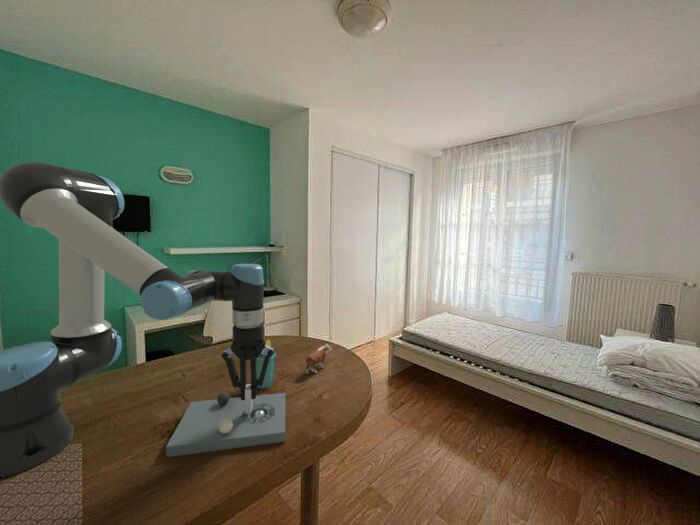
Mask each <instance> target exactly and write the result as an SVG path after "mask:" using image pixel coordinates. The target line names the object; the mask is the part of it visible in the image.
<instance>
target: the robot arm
mask: <svg viewBox="0 0 700 525" xmlns="http://www.w3.org/2000/svg"><path fill="white" fill-rule="evenodd" d="M0 200H1V202H2V204H3V205H4V207H5V208H6V209H7V210H8V211H9V212H11V214H13V215H14V216H15V217H17V218H18V219H19V220H21V221H22V222H24V223H25V224H27V225H29V226H31V227H33V228H38V229H39V228H41V229H44V230H45V231H47V232H48V233H49V234H51V235H53V236H54V237H55V238H56V239H58V290H59V291H58V292H59V293H58V296H59V297H58V304H59V306H58V309H59V310H58V311H59V313H58V315H59V316H58V317H59V319H58V320H59V322H58V323H59V324H57V326H55V327H54V328H53V329H51V330H50V341H35V342H34V341H33V342H28V343H27V342H26V343H25V344H23V345H15V346H11V347H9V348H6V349H3V350H1V351H0V477H3V476H7V477H10V476H14V475H16V474H19V473H22V472H25V471H27V470H30V469H32V468H33V467H36V466H39V465H40V464H43V463H44V462H46V461H47V460H49V459H51V458H53V457H55V456H56V455H57V454H59V453H60V452H62V451H63V450H64V449H65V448H66V447H67V446H68V445H69V444H70V443H71V442H72V440H73V438H74V426H73V423H72V422H71V421H70V420H69V418H68V417H67V415H66V413H65V412H64V410H63V408H62V404H61V392H62V391H63V390H65V389H68V388H69V387H71V386H73V385H75V384H76V383H78V382H81V381H83V380H84V379H86V378H88V377H90V376H92V375H95V374H98V373H100V372H102V371H103V370H105V369H106V368H107V367H109V366H110V365H112V364H114V362H116V361H117V359H119V358H118V357H119V356H120V354H121V352H122V347H123V345H122V343H123V342H122V338H121V336H120V335H118V331H117V330H116V329H114V328H112V324H111V322H109V321H107V320H105V279H106V278H105V275H106V274H105V272H106V273H107V274H109V275H110V276H111V277H113V278H114V279H116V280H118V281H119V282H121V283H122V284H123V285H125V286H126V287H127V288H128V289H131V290H132V291H133V292H134V293H136V294H137V295H139V296H140V306H141V308H142V309H143V310H144V313H145V314H146V315H147V316H148V317H149V318H151V319H153V320H158V321H164V320H165V321H166V320H168V319H173V318H175V317H179V316H182V315H184V314H186V313H187V312H189V311H191V310H193V309H196V308H197V307H200V306H203V305H206V304H207V303H210V302H215V301H217V302H231V306H232V310H231V311H232V312H231V313H232V316H231V318H232V319H231V320H232V321H231V322H232V325H233V326H232V343H231V345H230V347H229V348H226V349H224V350H223V351H222V354H221V355H220V356H221V358H222V359H223V360H224V361H225V364H226V367H227V370H228V371H227V372H228V374H229V378H230V381H231V384H232V387H233V388H234V389H237V388H238V389H240V397H241V400H245V414H246V413H251V411H252V399H255V398H256V396H258V394H257V393H258V391H257V389H258V388H257V386H259V385H260V386H261V385H263V381H264V377H265V374H266V370H267V366H268V362H269V359H270V357H271V356H272V354H273V351H274V352H275V350H274V349H275V348H274V347H273V346H271V347H269V346H267V345H266V343H265V342H266V340H265V338H264V335H265V334H264V331H265V330H264V323H263V322H264V314H265V313H264V312H265V310H264V285H265V280H264V269H263V267H262V265H260V264H258V263H257V264H256V263H236V264H233V265H232V267H231V270H230V271H218V270H217V271H216V270H205V269H200V270H190V271H189V270H188V271H187V272H185V274H184V275H183V276H181V275H180V274H179V273H177V272H175V271H174V270H173V269H171V268H170V267H168V266H166V264H164V263H162V262H161V261H159V260H158V259H157V258H156V257H154V256H153V255H151V254H150V253H148V252H147V251H146V250H144V249H143V248H142V247H140V246H139V245H137V244H135V242H133V241H131V240H130V239H128V238H127V237H126V236H125V235H123V234H122V233H120V232H119V231H117V230H116V229H115V228H114V227H113V224H114V222H113V220H116V219H117V218H119V217H120V214H122V213H123V211H124V209H125V198H124V195H123V193H122V191H121V189H120V188H119V186H117V185H116V184H115V182H114V181H113V180H110V179H109V178H107V177H104V176H101V175H98V174H96V173H94V172H93V173H92V172H88V171H84V170H83V171H82V170H79V169H78V170H77V169H72V168H68V167H63V166H59V165H54V164H51V163H46V162H38V161H26V162H21V163H17V164H14V165H12V166H10V167H8V168H6V170H4V172H3V173H1V175H0ZM263 350H264V355H265V357H264V361H263V365H262V369H261V373H260V377H259V379H257V357H258V356H259V355H260V353H261V352H262V351H263ZM233 355H235V356H236V357H237V358H238V359H239V368H240V369H239V371H240V372H239V374H238V371H237V367H236V364H235V360H234V357H233ZM248 360H250V362H249V363H250V383H248V384H247V382H248V381H247V380H248V379H247V361H248ZM239 377H240V378H239ZM3 478H4V477H3Z"/></svg>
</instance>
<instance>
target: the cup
mask: <svg viewBox="0 0 700 525" xmlns="http://www.w3.org/2000/svg"><path fill="white" fill-rule="evenodd" d="M265 343H266V345H267V346H269V347H272V341H271V339H266V340H265ZM264 357H265V355H264V350H263V351H262V352H261V353H260V355H259V356H258V357H257V379H259V377H260V373H261V369H262V365H263V361H264ZM276 357H277V353H276V352H275V350H274V351H273V354H272V356H271V357H270V359H269V362H268V366H267V370H266V374H265V377H264V381H263V385H261V386H260V385H259V386H257V389H261V390H265V389H268V388H271V387H272V385H273V383H274V372H275V362H276Z"/></svg>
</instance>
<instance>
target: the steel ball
mask: <svg viewBox="0 0 700 525" xmlns="http://www.w3.org/2000/svg"><path fill="white" fill-rule="evenodd" d="M265 416H266V414H265V412H264V411H263V410H258V411H256V412H255V413H254V416H253V418H254V419H260V418H262V417H265Z"/></svg>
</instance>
